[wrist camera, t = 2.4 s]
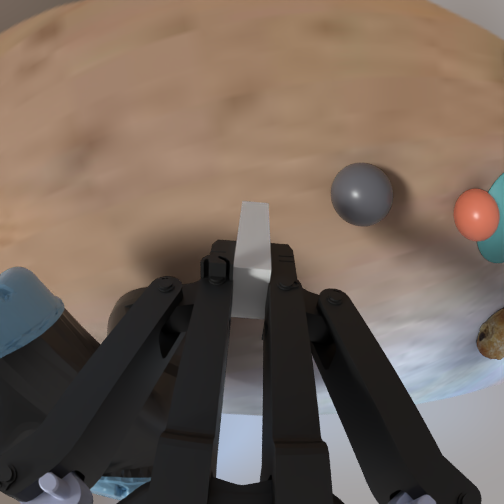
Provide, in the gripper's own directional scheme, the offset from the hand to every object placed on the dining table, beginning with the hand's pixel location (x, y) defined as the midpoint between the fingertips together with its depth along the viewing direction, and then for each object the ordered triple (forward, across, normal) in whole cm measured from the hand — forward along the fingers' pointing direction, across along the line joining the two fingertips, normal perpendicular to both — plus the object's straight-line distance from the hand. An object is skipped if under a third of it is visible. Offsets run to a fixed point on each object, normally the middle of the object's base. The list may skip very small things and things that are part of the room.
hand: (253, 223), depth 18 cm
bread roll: (+11, -44, +20) cm, 49 cm away
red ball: (+8, -23, 0) cm, 24 cm away
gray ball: (+8, -9, 0) cm, 12 cm away
